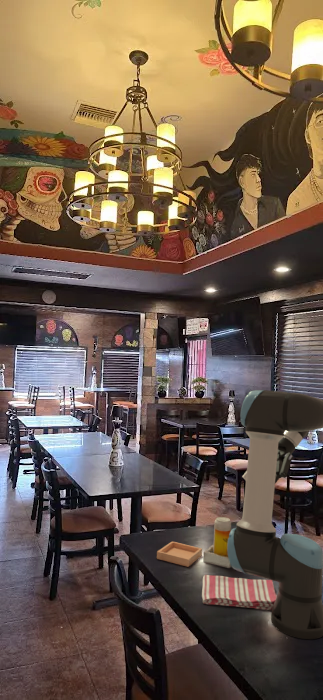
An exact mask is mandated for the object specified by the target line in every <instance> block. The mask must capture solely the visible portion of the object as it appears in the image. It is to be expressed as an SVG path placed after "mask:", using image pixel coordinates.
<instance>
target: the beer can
mask: <svg viewBox="0 0 323 700" xmlns="http://www.w3.org/2000/svg"><path fill="white" fill-rule="evenodd" d="M213 526H214V527H213V528H214V529H213V543H212V545H213V553H214V554H219V555H223V556H227V557H228V551H227V545H228V538H229V534H230V531H231V530H232V522H231V519H230V518H229V517H225V516H224V517H223V516H218V517H216V518H215V520H214V525H213Z"/></svg>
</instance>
